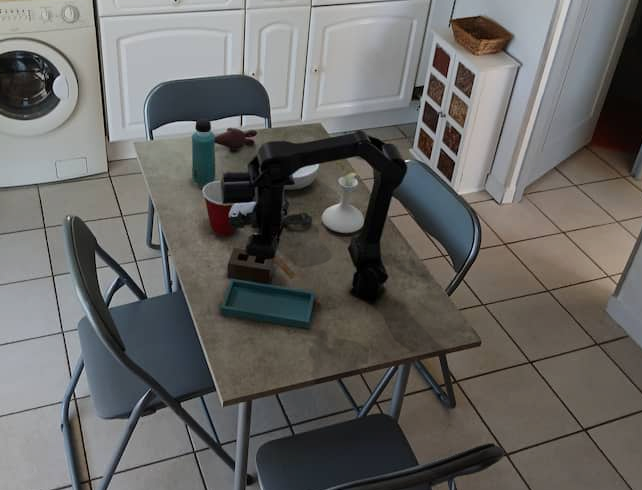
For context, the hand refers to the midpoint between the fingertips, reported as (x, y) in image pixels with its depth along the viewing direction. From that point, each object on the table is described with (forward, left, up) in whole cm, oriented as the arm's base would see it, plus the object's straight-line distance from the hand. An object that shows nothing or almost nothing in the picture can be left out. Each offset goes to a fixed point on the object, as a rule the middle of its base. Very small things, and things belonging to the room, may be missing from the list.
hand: (266, 256), depth 166 cm
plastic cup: (+24, -15, -13) cm, 31 cm away
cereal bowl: (+23, -44, -13) cm, 51 cm away
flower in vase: (+1, -37, -13) cm, 39 cm away
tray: (-2, +1, -13) cm, 13 cm away
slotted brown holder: (+8, -6, -13) cm, 16 cm away
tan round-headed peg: (-6, -2, -4) cm, 8 cm away
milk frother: (+15, -28, -13) cm, 34 cm away
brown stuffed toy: (+46, -48, -13) cm, 68 cm away
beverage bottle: (+41, -28, -13) cm, 51 cm away
